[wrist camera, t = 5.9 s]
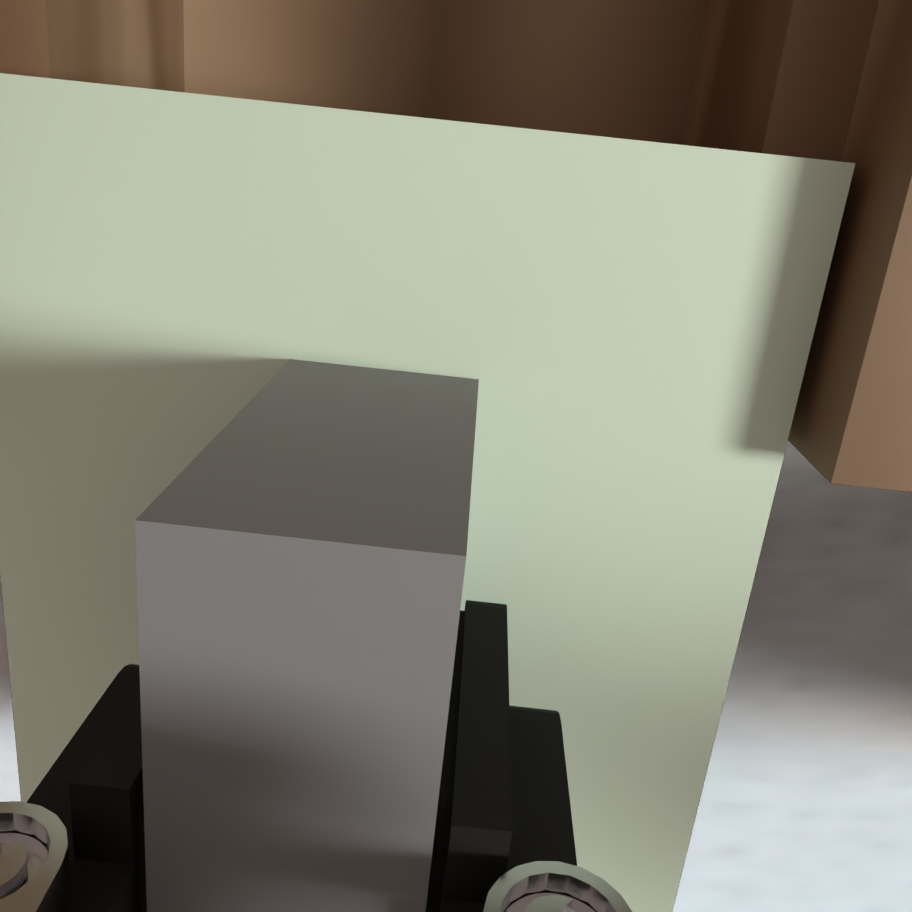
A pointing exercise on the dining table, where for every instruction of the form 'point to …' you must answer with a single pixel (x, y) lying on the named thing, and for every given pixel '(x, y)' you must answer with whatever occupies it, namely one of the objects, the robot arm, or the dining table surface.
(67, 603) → the cover plate
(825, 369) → the walnut box
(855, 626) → the dining table surface
